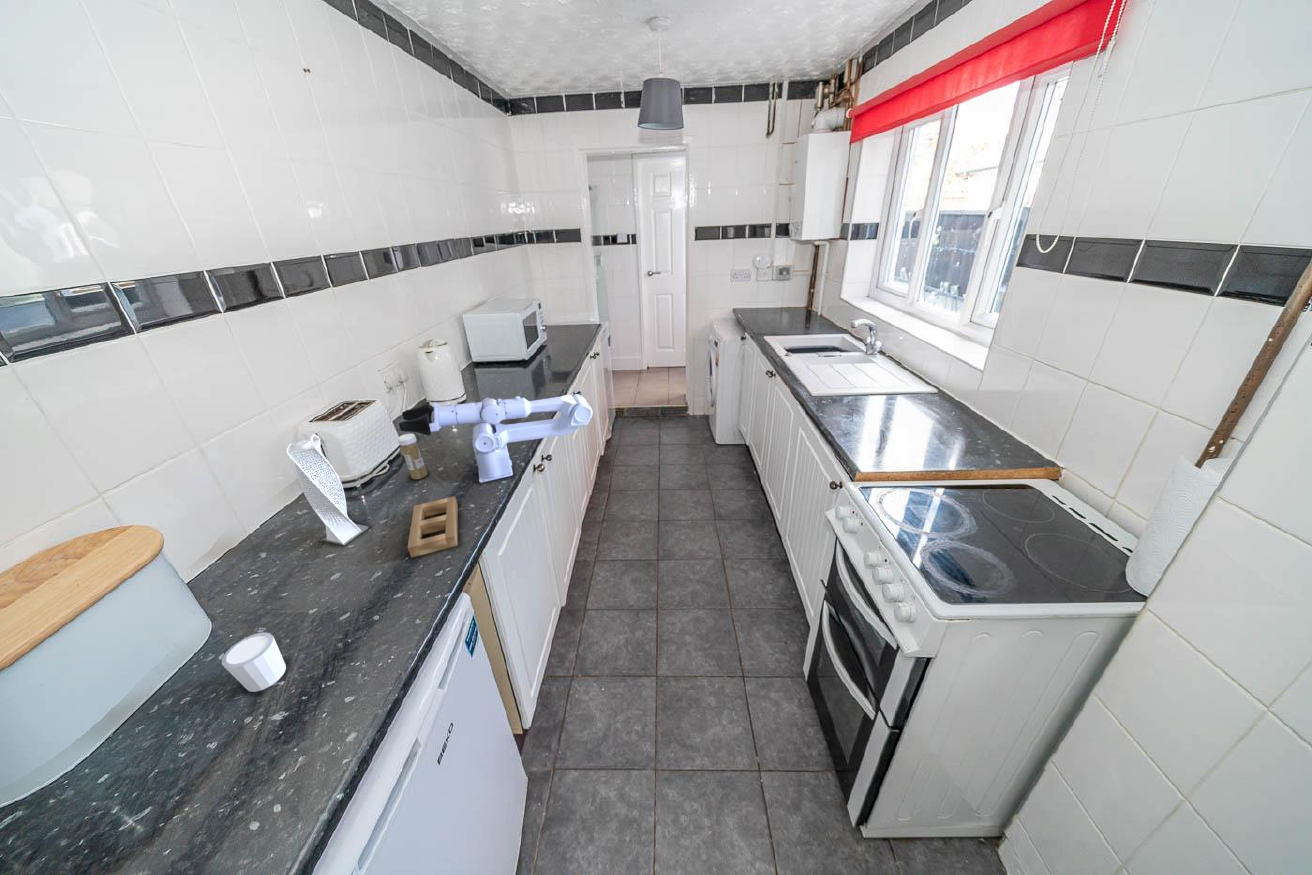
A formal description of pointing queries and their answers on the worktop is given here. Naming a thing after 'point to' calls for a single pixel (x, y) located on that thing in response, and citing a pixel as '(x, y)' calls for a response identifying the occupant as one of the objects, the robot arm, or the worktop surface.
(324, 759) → the worktop surface
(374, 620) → the worktop surface
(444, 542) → the holder
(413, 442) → the sprinkles bottle
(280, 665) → the white faceted cup
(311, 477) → the skyscraper
